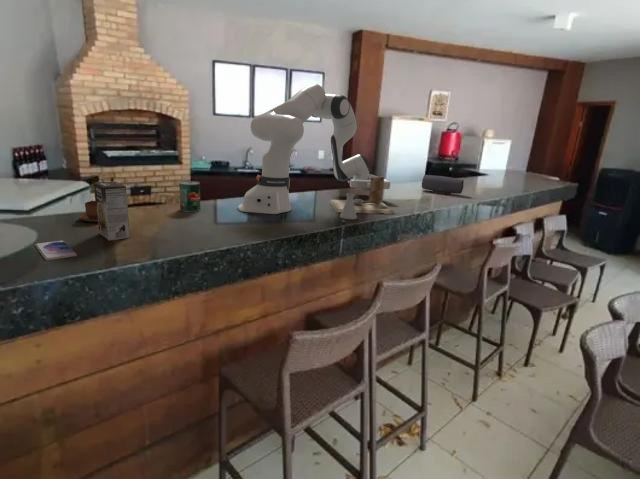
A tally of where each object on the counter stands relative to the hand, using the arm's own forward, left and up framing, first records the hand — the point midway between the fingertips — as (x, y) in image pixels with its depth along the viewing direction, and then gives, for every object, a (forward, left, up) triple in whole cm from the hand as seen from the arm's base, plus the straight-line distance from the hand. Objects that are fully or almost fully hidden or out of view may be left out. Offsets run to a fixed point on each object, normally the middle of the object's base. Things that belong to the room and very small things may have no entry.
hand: (373, 186), depth 191 cm
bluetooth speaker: (+53, +39, -9) cm, 67 cm away
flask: (-18, -30, -9) cm, 36 cm away
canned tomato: (-82, -23, -9) cm, 85 cm away
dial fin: (-4, -8, -7) cm, 11 cm away
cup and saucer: (-109, -42, -9) cm, 117 cm away
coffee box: (-98, -61, -9) cm, 115 cm away
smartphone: (-108, -75, -9) cm, 132 cm away
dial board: (-8, -10, -9) cm, 16 cm away
